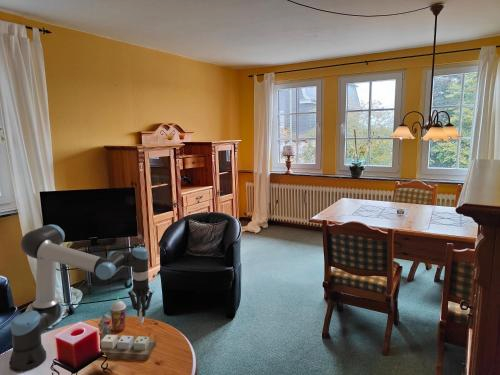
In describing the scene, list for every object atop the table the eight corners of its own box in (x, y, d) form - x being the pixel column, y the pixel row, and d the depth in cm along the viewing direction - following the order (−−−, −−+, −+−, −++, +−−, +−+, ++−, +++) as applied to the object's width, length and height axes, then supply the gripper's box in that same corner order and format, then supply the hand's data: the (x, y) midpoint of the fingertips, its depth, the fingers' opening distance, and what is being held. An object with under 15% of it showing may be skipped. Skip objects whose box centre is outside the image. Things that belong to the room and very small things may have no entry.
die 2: (117, 349, 173) (117, 341, 172) (122, 342, 179) (122, 335, 178) (128, 350, 173) (128, 342, 172) (133, 343, 178) (133, 335, 178)
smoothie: (112, 326, 199) (112, 293, 196) (127, 325, 200) (127, 293, 198) (109, 334, 191) (108, 300, 188) (125, 332, 192) (124, 299, 189)
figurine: (99, 343, 181) (98, 317, 179) (96, 336, 188) (95, 311, 186) (115, 339, 186) (114, 313, 184) (112, 332, 192) (111, 307, 190)
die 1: (101, 348, 173) (100, 340, 173) (106, 342, 179) (106, 334, 179) (112, 349, 173) (112, 341, 172) (117, 342, 179) (117, 334, 178)
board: (93, 356, 170) (92, 351, 170) (105, 341, 183) (105, 336, 183) (147, 360, 169) (147, 354, 168) (156, 344, 182) (156, 339, 181)
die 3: (133, 350, 172) (133, 342, 172) (138, 343, 178) (138, 335, 178) (145, 351, 172) (145, 343, 172) (149, 344, 178) (149, 336, 178)
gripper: (124, 280, 167) (126, 325, 170) (150, 281, 166) (151, 326, 169) (130, 274, 174) (132, 317, 177) (155, 275, 174) (156, 318, 177)
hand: (141, 322), depth 173 cm, fingers closed
